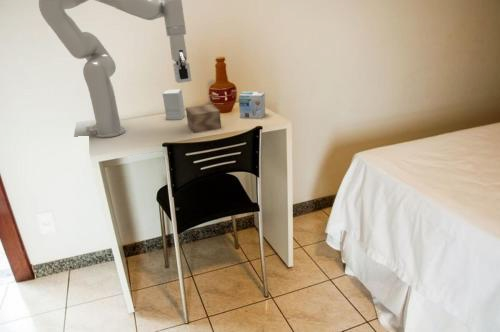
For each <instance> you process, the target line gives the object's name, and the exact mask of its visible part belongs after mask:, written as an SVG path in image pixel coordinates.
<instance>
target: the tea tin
mask: <svg viewBox="0 0 500 332" xmlns="http://www.w3.org/2000/svg"><path fill="white" fill-rule="evenodd" d="M185 62H186V67H187V72H188V79H180V74H179V64H178V63H176V62H174V63H172V67H173V72H174V79H175V82H176V83H177V84H180V83H187V82H188V83H189V82H192V75H191V74H192V73H191V68H190V63H189V62H188V61H185ZM180 64H181V63H180Z"/></svg>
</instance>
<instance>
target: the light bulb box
mask: <svg viewBox="0 0 500 332" xmlns="http://www.w3.org/2000/svg"><path fill="white" fill-rule="evenodd" d="M265 95H266V93H265V91H242V92H240V93H239V94H238V103H239V104H238V106H239V107H238V108H239V118H240V119H241V118H242V119H243V118H244V119H257V120H258V119H263V118H264V116H266V98H265V97H266V96H265Z"/></svg>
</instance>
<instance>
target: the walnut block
mask: <svg viewBox="0 0 500 332" xmlns="http://www.w3.org/2000/svg"><path fill="white" fill-rule="evenodd" d="M220 111H221V110H220V109H218V108H217V107H216V106H215V105H214V104H213V103H210V104H203V105H194V106H188V107H185V115H186V119H187V126H188V127H189V129H190V130H191V132H192V133H194V134H195V133H202V132H209V131H213V130H214V131H215V130H219V129H222V123H221V122H222V120H221V112H220Z"/></svg>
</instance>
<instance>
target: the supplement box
mask: <svg viewBox="0 0 500 332" xmlns="http://www.w3.org/2000/svg"><path fill="white" fill-rule="evenodd" d="M162 98H163V103H164V104H163V105H164V112H165V117H166V121H169V120H172V121H173V120H182V119H183V118H184V117H185V116H186V111H185V107H184V106H185V105H184V98H183V90H182V89H181V88H180V89H179V88H177V89H166V90H165V91H164V92H163V93H162Z"/></svg>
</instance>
